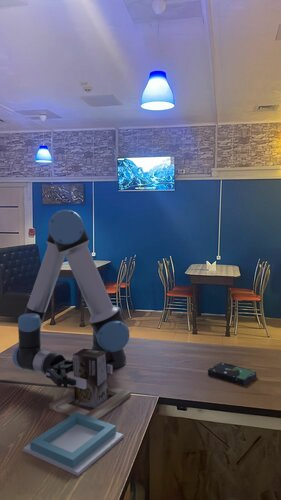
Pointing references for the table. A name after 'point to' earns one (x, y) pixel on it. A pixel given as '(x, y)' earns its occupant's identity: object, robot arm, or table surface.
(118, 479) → the table surface
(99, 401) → the coffee box
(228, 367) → the disk drive
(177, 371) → the table surface
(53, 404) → the birch frame
